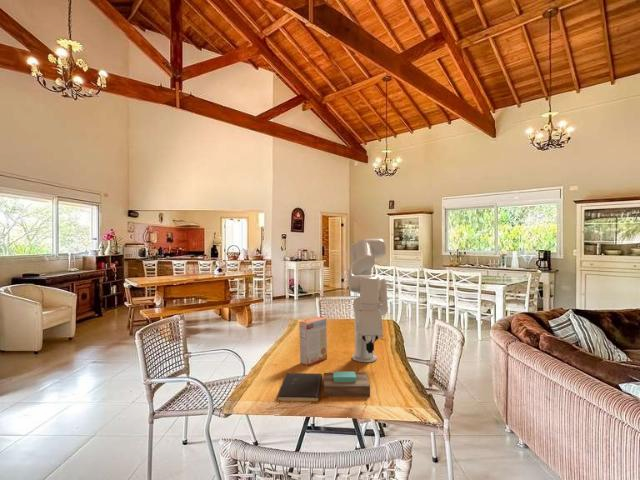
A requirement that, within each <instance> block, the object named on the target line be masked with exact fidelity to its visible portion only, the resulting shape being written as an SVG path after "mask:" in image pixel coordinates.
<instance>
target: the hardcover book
mask: <svg viewBox="0 0 640 480" xmlns="http://www.w3.org/2000/svg"><path fill="white" fill-rule="evenodd" d="M322 381H323V374H322V373H309V372H308V373H307V372H306V373H303V372H300V373H299V372H296V373H294V372H287V373H286V374H285V377H284V379H283V381H282V384H281V386H280V389H279V391H278V394H277V396H276V397H277V398H278V399H277V400H278V401H284V402H285V401H288V402H290V401H293V402H298V401H299V402H301V401H302V402H320V396H321V389H322V383H323V382H322Z"/></svg>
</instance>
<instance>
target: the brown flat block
mask: <svg viewBox="0 0 640 480" xmlns="http://www.w3.org/2000/svg"><path fill="white" fill-rule="evenodd" d="M355 374H356V382H334V378H333V372H323V397H324V398H327V397H328V398H332V397H338V398H340V397H341V398H344V397H345V398H346V397H350V398H351V397H371V385H370V382H369V379H368V375H367V373H366V372H364V371H363V372H355Z"/></svg>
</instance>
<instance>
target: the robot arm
mask: <svg viewBox="0 0 640 480" xmlns="http://www.w3.org/2000/svg"><path fill="white" fill-rule="evenodd" d="M349 253H350V258H351V260H352V264H351V265H350V266H349V268H348V271H347V287H348V289H349V291H350V292H352V293H358V294H360V295H359V296H358V297H357V296H356V298H354V299H353V301H352V309H353V315H354V353H353V354H352V355H351V359H352V360H354V361H355V362H358V363H372V362H376V361H377V359H378V356H377V355H376V354H375V342H377V341H378V339H382V338H384V334H383V331H384V329H383V318H382V316H385V315H387V314H388V311H389V309H388V307H389V306H388V305H389V304H388V287H387V280H386V278H385V277H383V276H382V275H377V274H372V269H373V267H374V266H375V264H376V259H380V258H383V257H384V256H385V254H386V253H387V244H386V242H385V240H384V239H382V238H362V239H360V240H358V241H355V242H353V243H351V244H350V246H349Z"/></svg>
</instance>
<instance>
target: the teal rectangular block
mask: <svg viewBox="0 0 640 480" xmlns="http://www.w3.org/2000/svg"><path fill="white" fill-rule="evenodd" d="M332 373H333V378H334V382H356V374H355V373H356V371H355V370H354V371H353V370H351V371H346V370H345V371H332Z"/></svg>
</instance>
